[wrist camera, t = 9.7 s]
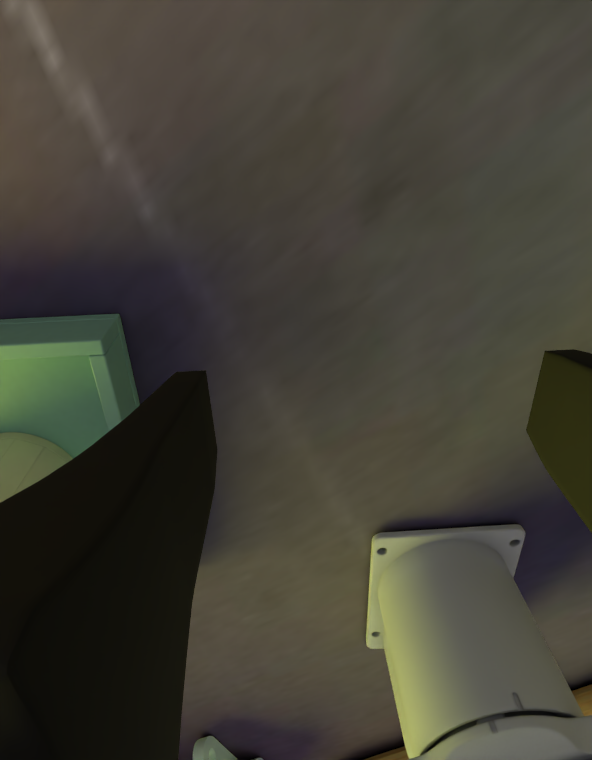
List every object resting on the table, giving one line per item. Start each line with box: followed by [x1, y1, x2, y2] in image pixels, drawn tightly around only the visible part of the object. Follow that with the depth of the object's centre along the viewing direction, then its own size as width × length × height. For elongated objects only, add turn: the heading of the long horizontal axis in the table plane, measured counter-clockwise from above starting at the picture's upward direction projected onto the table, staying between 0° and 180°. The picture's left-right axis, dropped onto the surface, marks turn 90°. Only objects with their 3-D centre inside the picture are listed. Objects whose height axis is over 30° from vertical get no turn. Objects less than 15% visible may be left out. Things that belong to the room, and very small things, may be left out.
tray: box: [0, 314, 140, 458], centre depth 22 cm, size 15×11×2 cm
